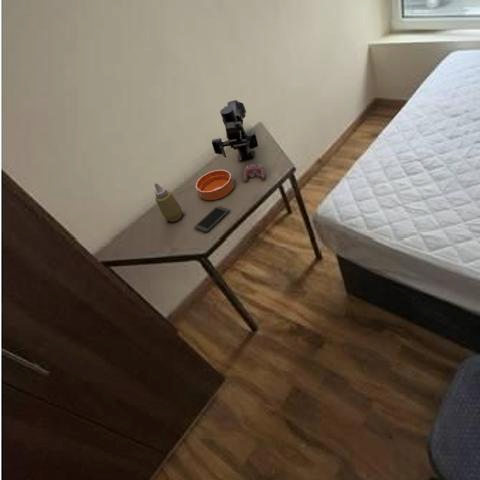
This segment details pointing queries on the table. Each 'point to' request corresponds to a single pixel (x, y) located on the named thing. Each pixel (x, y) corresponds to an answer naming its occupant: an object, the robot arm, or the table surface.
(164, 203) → the squeeze bottle
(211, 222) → the cell phone
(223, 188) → the orange mixing bowl
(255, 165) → the video game controller
